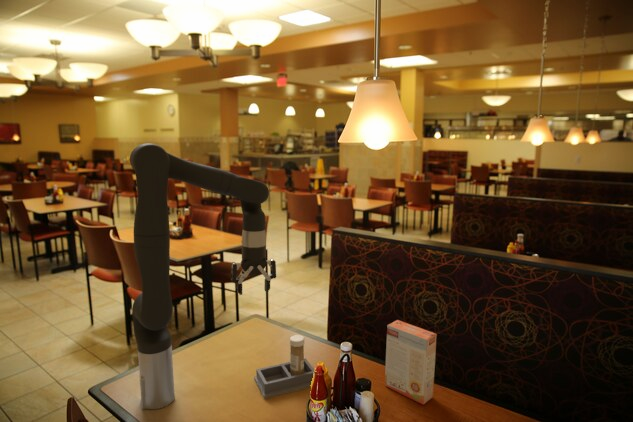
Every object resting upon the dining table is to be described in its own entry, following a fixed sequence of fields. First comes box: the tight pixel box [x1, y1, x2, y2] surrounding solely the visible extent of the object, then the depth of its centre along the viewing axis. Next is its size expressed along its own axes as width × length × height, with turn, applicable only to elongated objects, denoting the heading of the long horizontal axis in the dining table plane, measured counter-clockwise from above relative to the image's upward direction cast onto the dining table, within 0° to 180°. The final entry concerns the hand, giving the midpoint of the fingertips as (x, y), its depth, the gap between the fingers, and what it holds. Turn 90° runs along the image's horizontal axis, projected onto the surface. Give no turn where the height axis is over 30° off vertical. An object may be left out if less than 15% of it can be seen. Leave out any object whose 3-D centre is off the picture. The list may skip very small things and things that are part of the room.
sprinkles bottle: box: [289, 334, 305, 376], centre depth 134 cm, size 5×5×13 cm
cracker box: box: [384, 319, 438, 405], centre depth 128 cm, size 14×6×21 cm, turn 45°
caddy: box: [253, 357, 315, 400], centre depth 134 cm, size 18×11×4 cm, turn 114°
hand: (253, 292), depth 135 cm, fingers open, 8 cm apart
